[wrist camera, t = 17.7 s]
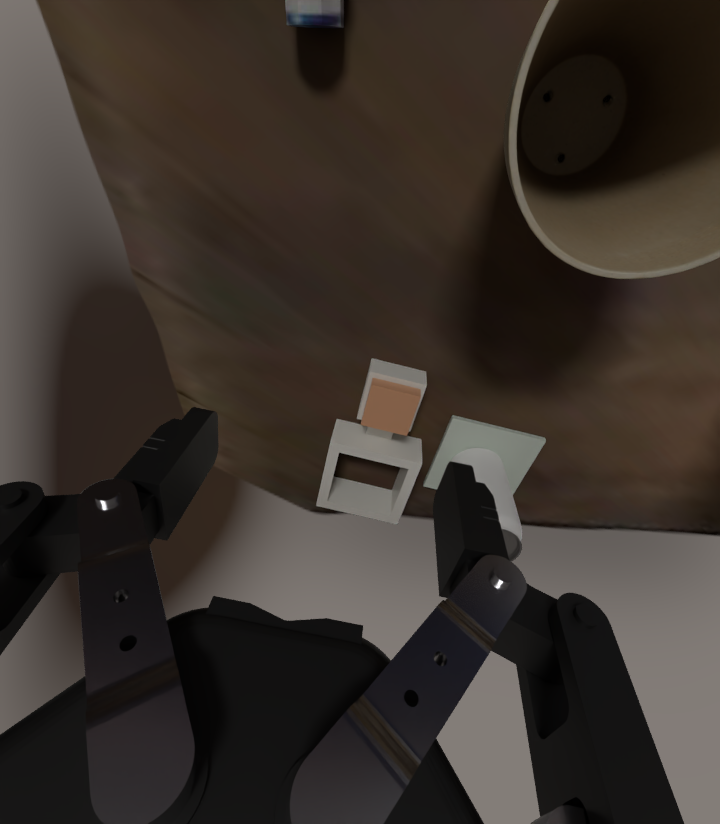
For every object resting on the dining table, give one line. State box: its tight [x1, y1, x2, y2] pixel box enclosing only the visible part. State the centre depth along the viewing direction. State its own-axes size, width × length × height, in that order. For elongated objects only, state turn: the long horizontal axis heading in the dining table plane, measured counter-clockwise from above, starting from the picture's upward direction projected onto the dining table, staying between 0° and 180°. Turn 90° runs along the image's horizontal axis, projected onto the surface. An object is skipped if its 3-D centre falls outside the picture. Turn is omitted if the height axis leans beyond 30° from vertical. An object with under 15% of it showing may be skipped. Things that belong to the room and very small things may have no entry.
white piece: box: [316, 358, 427, 525], centre depth 46 cm, size 10×19×4 cm, turn 167°
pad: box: [423, 415, 546, 495], centre depth 49 cm, size 11×11×1 cm
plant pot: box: [504, 0, 720, 279], centre depth 24 cm, size 15×15×16 cm
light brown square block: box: [361, 378, 421, 436], centre depth 43 cm, size 5×5×4 cm
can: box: [451, 448, 522, 562], centre depth 44 cm, size 6×6×12 cm
